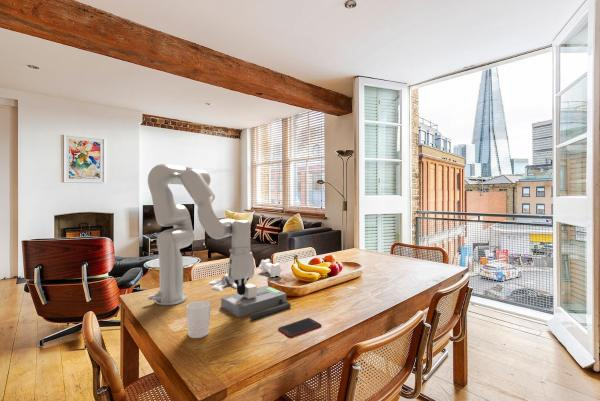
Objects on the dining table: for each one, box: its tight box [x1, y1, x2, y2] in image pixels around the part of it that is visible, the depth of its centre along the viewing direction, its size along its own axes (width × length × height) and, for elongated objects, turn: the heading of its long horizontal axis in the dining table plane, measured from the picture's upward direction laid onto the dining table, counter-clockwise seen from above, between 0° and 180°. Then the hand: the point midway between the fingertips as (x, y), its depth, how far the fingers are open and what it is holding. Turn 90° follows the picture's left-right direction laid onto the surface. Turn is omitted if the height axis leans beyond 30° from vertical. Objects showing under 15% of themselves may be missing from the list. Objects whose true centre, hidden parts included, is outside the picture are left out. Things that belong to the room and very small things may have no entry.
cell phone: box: [277, 317, 322, 339], centre depth 108 cm, size 8×15×1 cm, turn 128°
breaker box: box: [220, 285, 287, 318], centre depth 129 cm, size 24×14×4 cm, turn 133°
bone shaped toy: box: [258, 258, 283, 278], centre depth 174 cm, size 15×9×8 cm, turn 34°
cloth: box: [208, 273, 237, 291], centre depth 157 cm, size 22×19×6 cm
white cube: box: [242, 282, 258, 299], centre depth 127 cm, size 4×5×4 cm
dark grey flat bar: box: [249, 300, 292, 321], centre depth 122 cm, size 20×6×2 cm, turn 133°
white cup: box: [185, 300, 212, 339], centre depth 102 cm, size 8×8×10 cm
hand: (241, 293), depth 124 cm, fingers closed
